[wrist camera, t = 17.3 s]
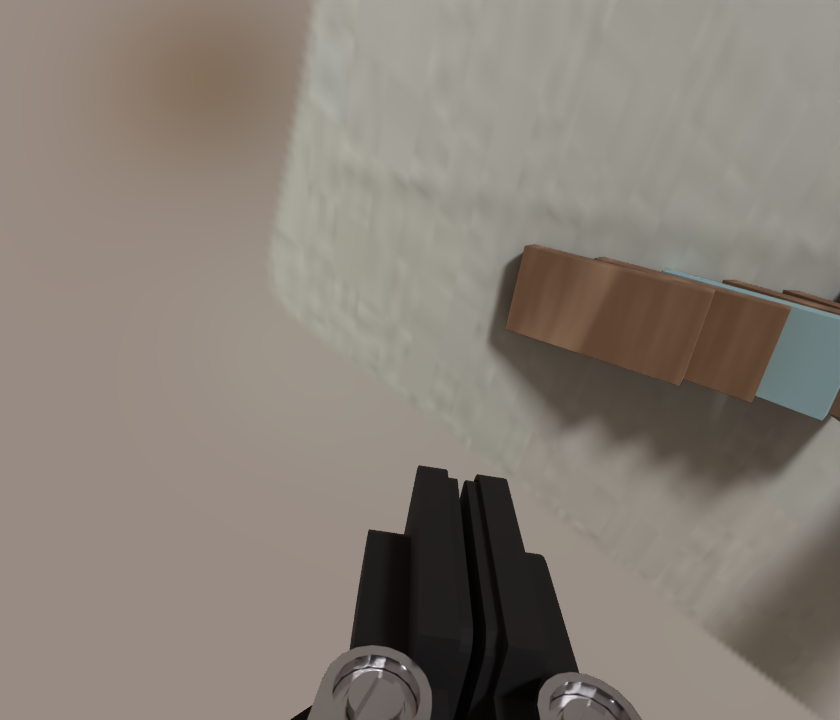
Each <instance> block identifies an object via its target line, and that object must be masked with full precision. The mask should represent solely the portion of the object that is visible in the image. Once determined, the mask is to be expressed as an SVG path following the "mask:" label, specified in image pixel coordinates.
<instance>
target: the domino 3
mask: <svg viewBox="0 0 840 720" xmlns="http://www.w3.org/2000/svg"><path fill="white" fill-rule="evenodd" d="M662 272H663V273H667V274H671V275H675V276H678V277H682V278H686V279H690V280H694V281H697V282H701V283H705V284H709V285H713V286H717V287H720V288H724V289H728V290H732V291H736V292H739V293H743V294H747V295H751V296H755V297H759V298H762V299H766V300H770V301H774V302H778V303H781V304H785V305H789V306H793V307H792V309H791V312H790V314H789V316H788V319H787V321H786V324H785V326H784V328H783V331H782V333H781V336H780V338H779V340H778V343H777V345H776V348H775V350H774V352H773V355H772V357H771V359H770V362H769V364H768V367H767V369H766V371H765V374H764V376H763V379H762V381H761V383H760V386H759V388H758V390H757V393H756V395H755V396H757V397H760V398H763V399H765V400H768V401H771V402H773V403H776V404H779V405H781V406H784V407H787V408H789V409H792V410H795V411H797V412H800V413H803V414H805V415H808V416H811V417H813V418H816V419H819V420H821V421H822V420H823V419H824V418H825V417H826V415H827V414H828V412H829V410H830V408H831V406H832V404H833V401H834V399H835V397H836V395H837V393H838V391H839V389H840V316H839V315H836V314H832V313H829V312H825V311H821V310H818V309H814V308H810V307H807V306H803V305H799V304H796V303H792V302H788V301H785V300H781V299H777V298H774V297H770V296H766V295H763V294H759V293H755V292H752V291H748V290H745V289H741V288H737V287H734V286H730V285H726V284H723V283H719V282H715V281H712V280H708V279H704V278H701V277H697V276H693V275H690V274H686V273H682V272H679V271H675V270H662Z"/></svg>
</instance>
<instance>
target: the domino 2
mask: <svg viewBox="0 0 840 720" xmlns="http://www.w3.org/2000/svg"><path fill="white" fill-rule="evenodd" d="M595 260H599V261H603V262H607V263H611V264H614V265H618V266H622V267H626V268H630V269H634V270H638V271H642V272H646V273H650V274H654V275H658V276H662V277H666V278H670V279H674V280H678V281H682V282H686V283H690V284H694V285H698V286H702V287H706V288H710V289H714V290H715V293H714V296H713V298H712V301H711V304H710V307H709V309H708V312H707V315H706V318H705V320H704V323H703V326H702V329H701V331H700V334H699V337H698V340H697V342H696V345H695V348H694V351H693V353H692V356H691V359H690V362H689V364H688V367H687V370H686V373H685V375H684V378H683V379H685V380H688V381H690V382H693V383H696V384H699V385H702V386H705V387H708V388H711V389H713V390H716V391H719V392H722V393H725V394H728V395H731V396H734V397H736V398H739V399H742V400H745V401H748V402H751V403H752V401H753V399H754V397H755V395H756V393H757V390H758V388H759V386H760V383H761V381H762V379H763V376H764V374H765V371H766V369H767V367H768V364H769V362H770V359H771V357H772V355H773V352H774V350H775V348H776V345H777V343H778V340H779V338H780V336H781V333H782V331H783V328H784V326H785V324H786V321H787V319H788V316H789V314H790V312H791V309H792V307H793V306H789V305H785V304H781V303H778V302H774V301H770V300H766V299H762V298H759V297H755V296H751V295H747V294H743V293H739V292H736V291H732V290H728V289H724V288H720V287H717V286H713V285H709V284H705V283H701V282H697V281H694V280H690V279H686V278H682V277H678V276H675V275H671V274H667V273H663V272H659V271H655V270H652V269H648V268H644V267H640V266H636V265H633V264H629V263H625V262H621V261H617V260H613V259H610V258H606V257H600V258H595Z"/></svg>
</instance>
